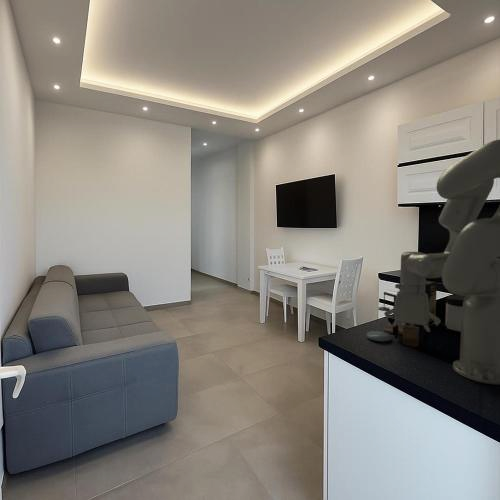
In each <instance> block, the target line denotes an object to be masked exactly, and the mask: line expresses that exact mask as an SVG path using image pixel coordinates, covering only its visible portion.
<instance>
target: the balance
mask: <svg viewBox="0 0 500 500" xmlns="http://www.w3.org/2000/svg"><path fill="white" fill-rule="evenodd" d="M396 295H397V294H393V293H389V292H387V291H384V292H383V306H379V307H378V310H379V311H381V312H386V311H389V310H391V308H390V307H385V301H386V297H385V296H389V297H392V298H393V308H395V301H396ZM393 308H392V309H393ZM392 318H393V320H394V321H395V319H394V313H392ZM400 324H401V325H400V326H401V327H403V328H404V325H408V326H414V324H408V323H402V322H400ZM403 328H399V327H398V336H402V337H403ZM383 332H385V333H388V334H390V335H391V334H392V335H393V326H385V327H384V328H383Z"/></svg>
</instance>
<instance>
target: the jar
mask: <svg viewBox="0 0 500 500" xmlns="http://www.w3.org/2000/svg"><path fill="white" fill-rule="evenodd" d="M464 298H465V296H459V295H455V294H452V295H450V294H449V295H447V296H446V303H445V322H444V323H445V324H444V325H445V327H446V329H448V330H451V331H455V332H460V333H461V322H462V306H463V301H464Z"/></svg>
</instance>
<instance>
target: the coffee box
mask: <svg viewBox="0 0 500 500" xmlns="http://www.w3.org/2000/svg"><path fill="white" fill-rule="evenodd" d="M425 285H426V286H425V293H426V294H427V295H428V301H429V312H431V313H432V314H433V315H435V316H436V313H437V312H436V310H437V291H438V290H437V288H438V281H432V280H431V281H430V280H426V284H425ZM430 322H434V320H433V319H431V318H430V317H429V322H428V324H429V323H430Z"/></svg>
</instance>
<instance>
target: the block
mask: <svg viewBox="0 0 500 500" xmlns="http://www.w3.org/2000/svg"><path fill="white" fill-rule="evenodd" d="M402 329H403V336H402V346H408V347H409V346H410V347H414V348H418V347H419V343H420V326H415V325H413V326H408V325H404V327H403V328H402Z"/></svg>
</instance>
